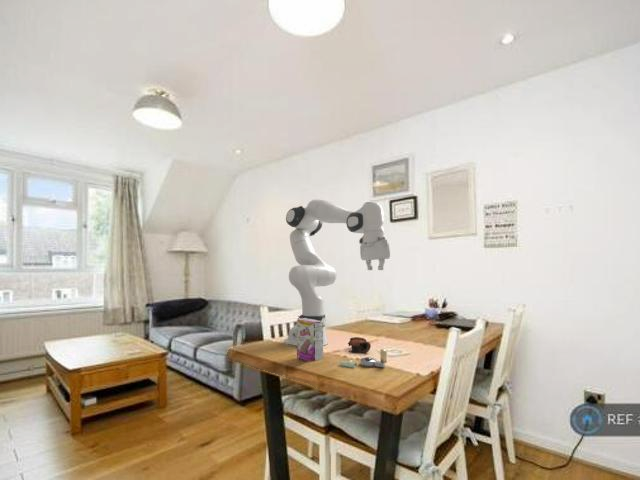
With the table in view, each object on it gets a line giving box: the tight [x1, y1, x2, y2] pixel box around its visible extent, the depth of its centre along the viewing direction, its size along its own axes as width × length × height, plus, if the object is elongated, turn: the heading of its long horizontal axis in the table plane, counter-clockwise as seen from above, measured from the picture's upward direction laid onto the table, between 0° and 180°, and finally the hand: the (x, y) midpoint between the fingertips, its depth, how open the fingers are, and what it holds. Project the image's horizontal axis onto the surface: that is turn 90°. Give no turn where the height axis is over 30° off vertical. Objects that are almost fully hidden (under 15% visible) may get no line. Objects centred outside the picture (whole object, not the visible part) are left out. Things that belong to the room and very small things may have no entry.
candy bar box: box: [296, 318, 324, 363], centre depth 134 cm, size 11×5×16 cm, turn 44°
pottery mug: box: [347, 336, 371, 354], centre depth 142 cm, size 12×10×8 cm
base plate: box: [339, 360, 358, 369], centre depth 122 cm, size 22×19×4 cm
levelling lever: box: [359, 348, 388, 368], centre depth 121 cm, size 10×6×6 cm, turn 59°
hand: (375, 270), depth 141 cm, fingers open, 8 cm apart
